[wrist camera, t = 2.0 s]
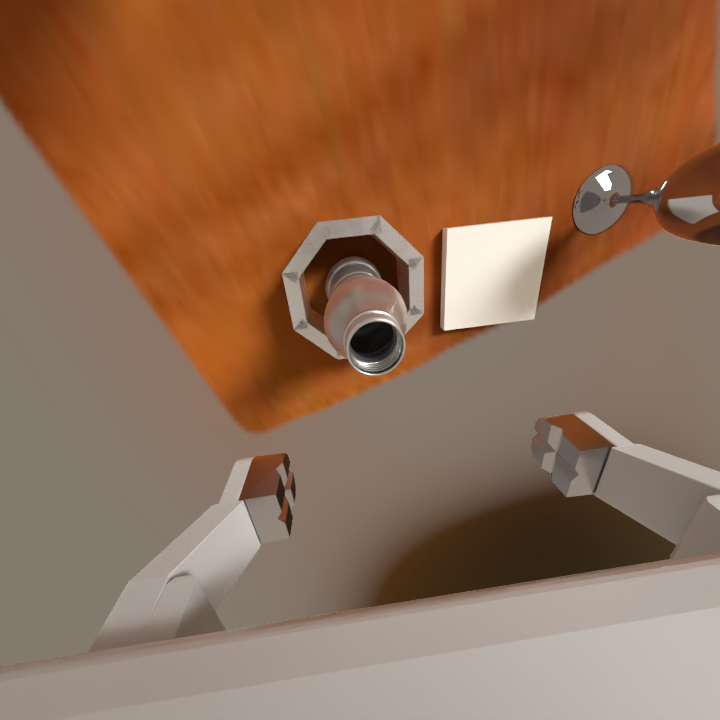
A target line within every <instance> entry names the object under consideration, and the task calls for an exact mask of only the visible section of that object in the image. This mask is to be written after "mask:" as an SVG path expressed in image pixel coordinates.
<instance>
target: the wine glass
mask: <svg viewBox="0 0 720 720" xmlns="http://www.w3.org/2000/svg"><path fill="white" fill-rule="evenodd" d="M633 192H634V182H633V178H632V175H631V173H630V172H629V171H628V170H627V169H626V168H625V167H623V166H621V165H615V164H612V165H607V166H604V167H602V168H600V169H598V170H596V171H595V172H594V173H592V174H591V175H590V176H589V177H588V178H587V179H586V180H585V181H584V183H583V184H582V185H581V187H580V189H579V191H578V192H577V195H576V197H575V200H574V204H573V219H574V222H575V225H576V226H577V228H578V229H579V230H580V231H582V232H584V233H586V234H599V233H602V232H604V231H606V230H608V229H610V228H611V227H613V226H614V225H615V224H616V223H617V222H618V221H619V220H620V219H621V218H622V217H623V216H624V214H625V213H626V211H627V209H628V207H629V205H630V203H634V204H644V205H648V206H650V207H651V208H652V209H653V210H654V213H655V216H656V218H657V221H658V222H659V224H660V225H661V227H662V228H663V229H664V230H665V231H667V232H669V233H670V234H673V235H675V236H677V237H680V238H683V239H686V240H690V241H695V242H699V243H705V244H710V245H719V246H720V143H717V144H715V145H712V146H710V147H708V148H706V149H704V150H702V151H700V152H698V153H696V154H695V155H693V156H691V157H690V158H689V159H687V160H686V161H685V162H684V163H682V164H681V165H680V166H679V167H677V168H676V169H675V170H674V171H673V172H672V173H671V174H670V175H669V177H668V178H667V179H666V180H665V181H664V182H663V183H662V184H661V185H659V186H658V187H656V188H654V189H652V190H649V191H645V192H641V193H637V194H633Z"/></svg>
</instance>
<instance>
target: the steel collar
mask: <svg viewBox="0 0 720 720" xmlns="http://www.w3.org/2000/svg"><path fill="white" fill-rule="evenodd" d="M369 234H370V235H371V236H372V237H373V238H374V239H375V240H377V241H378V242H379V243H380V244H381V245H382V246H383V247H384V248H385V249H386V250H388V251H389V252H390V253H391V254H392V255H393V256H394V257H395V258H396V259H397V283H398V292H399V293H400V295H401V296H402V298H403V300H404V302H405V306H406V309H407V326H406V332H405V334H406V333H407V332H408V331H409V329H410V328H411V327H412V326H413V325H414V324H415V323H416V322H417V321H418V320H419V318H420V317H421V316H422V315H423V314H424V257H423V256H422V255H421V254H420V253H419V252H418V251H417V250H416V249H415V248H414V247H413V246H412V245H410V244H409V243H408V242H407V241H406V240H405V239H404V238H403V237H402V236H401V235H400V234H399V233H398V232H397V231H396V230H395V229H394V228H393V227H392V226H391V225H389V224H388V223H387V222H386V221H385V220H384V219H383V218H382V217H381V216H370V217H361V218H352V219H343V220H334V221H325V222H317V223H316V225H315V226H314V228H313V229H312V231H311V232H310V234H309V235H308V236H307V238H306V239H305V241H304V242H303V244H302V245H301V247H300V248H299V250H298V251H297V252H296V254H295V255H294V257H293V258H292V260H291V261H290V263H289V264H288V265H287V267H286V268H285V270H284V271H283V273H282V276H283V281H284V286H285V291H286V295H287V300H288V305H289V309H290V314H291V319H292V324H293V328H294V330H295V331H296V332H298V333H299V334H301V335H302V336H304V337H305V338H307V339H308V340H310V341H311V342H312V343H314V344H315V345H317V346H318V347H320V348H321V349H323V350H324V351H326V352H327V353H329V354H330V355H332V356H333V357H334V358H336V359H337V360H338V359H345V358H344V357H343V356H341V355H340V354H339V353H338V352H337V351H336V350H335V349H334V348H333V347H332V345H331V344H330V342H329V340H328V338H327V336H326V333H325V329H324V317H323V316H322V315H320V314H319V313H318V312H316V311H315V310H313V309H312V308H311V307H310V302H309V296H308V291H307V285H306V279H305V274H304V270H305V269H306V267H307V266H308V264H309V263H310V262H311V260H312V259H313V257H314V256H315V255H316V253H317V252H318V250H319V249H320V248H321V246H322V245H323V243H324V242H325V241H326V239H333V238H342V237H351V236H360V235H369Z"/></svg>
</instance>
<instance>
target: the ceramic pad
mask: <svg viewBox="0 0 720 720" xmlns="http://www.w3.org/2000/svg"><path fill="white" fill-rule="evenodd" d="M551 221H552V217H540V218H531V219H522V220H513V221H504V222H495V223H486V224H477V225H468V226H459V227H450V228H443V234H442V273H441V312H440V327H441V328H442V329H443V330H444V331H445V330H453V329H461V328H469V327H477V326H485V325H493V324H501V323H509V322H516V321H524V320H532V319H534V318H535V312H536V306H537V301H538V295H539V289H540V284H541V278H542V272H543V266H544V261H545V255H546V249H547V244H548V238H549V232H550V227H551Z"/></svg>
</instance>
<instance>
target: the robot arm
mask: <svg viewBox="0 0 720 720" xmlns="http://www.w3.org/2000/svg"><path fill="white" fill-rule="evenodd" d="M534 429H535V430H536V431H537V434H536V436H534V438H533V439H532V443H531V450H532V454H533V457H534V459H535V460H536V462H537V464H538V465H539V466H540V467H541V468H542V469H544V470H546V471H548V472H550V473H551V480H552V481H553V482H554V483H555V485H556V486H557V487H558V488H559V489H560V490H561V491H562V493H563V494H564V495H565V496H566V497H572V496H580V495H589V494H595V496H596V497H598V498H600V499H601V500H603V501H605V502H606V503H608V504H610V505H611V506H613V507H615V508H616V509H618V510H620V511H621V512H623V513H624V514H626V515H628V516H630V517H631V518H633V519H634V520H636V521H638V522H639V523H641V524H643V525H644V526H646V527H648V528H649V529H651V530H653V531H654V532H656V533H658V534H659V535H661V536H662V537H664V538H666V539H668V540H669V541H671V542H672V543H674V544H676V545H677V546H676V548H675V549H674V551H673V552H672V554H671V556H670V559H669V560H663V561H657V562H650V563H644V564H639V565H632V566H625V567H619V568H613V569H607V570H600V571H594V572H588V573H582V574H576V575H569V576H563V577H557V578H550V579H544V580H538V581H532V582H525V583H519V584H513V585H506V586H500V587H494V588H488V589H482V590H476V591H469V592H463V593H457V594H451V595H444V596H438V597H432V598H426V599H420V600H414V601H408V602H401V603H395V604H388V605H383V606H376V607H370V608H363V609H357V610H351V611H345V612H338V613H332V614H326V615H320V616H313V617H307V618H301V619H295V620H288V621H282V622H276V623H270V624H264V625H257V626H252V627H245V628H239V629H232V630H226V628H225V626H224V625H223V623H222V621H221V620H220V618H219V617H218V615H217V613H216V610H217V609H218V607H219V606H220V604H221V603H222V601H223V600H224V599H225V597H226V595H227V594H228V593H229V591H230V590H231V588H232V587H233V585H234V584H235V583H236V581H237V580H238V578H239V577H240V575H241V574H242V572H243V571H244V569H245V568H246V566H247V565H248V563H249V562H250V560H251V559H252V558H253V556H254V555H255V553H256V552H257V550H258V549H259V548H260V546H261V545H260V544H261V543H267V542H273V541H278V540H284V539H289V538H290V535H291V527H292V520H293V516H292V512H291V507H292V506H293V505H294V504H295V497H296V485H295V478H294V474H293V472H291V471H290V470H289V467H290V460H289V457H288V455H287V454H286V453H283V454H275V455H266V456H257V457H252V458H243V459H238V460H237V461H236V462H235V464H234V466H233V469H232V472H231V474H230V476H229V479H228V481H227V483H226V486H225V488H224V491H223V493H222V496H221V498H220V500H219V503H218V504H215V505H212V506H211V507H210V508H209V509H208V510H207V511H206V512H205V513H203V514H202V515H201V516H200V517H199V518H198V519H197V520H196V521H195V522H194V523H192V524H191V526H189V527H188V528H187V529H186V530H185V531H184V532H183V533H182V534H180V535H179V536H178V537H177V538H176V539H175V540H174V541H173V542H172V543H171V544H169V546H167V547H166V548H165V549H164V550H163V551H162V552H161V553H160V554H159V555H158V556H156V557H155V558H154V559H153V560H152V561H151V562H150V563H149V564H148V565H147V566H145V567H144V568H143V569H142V570H141V571H140V572H139V573H138V574H137V575H136V576H135V577H133V578H132V579H131V580H130V581H129V582H128V583H127V585H126V587H125V588H124V590H123V592H122V594H121V595H120V598H119V599H118V601H117V602H116V604H115V606H114V608H113V609H112V611H111V613H110V615H109V616H108V618H107V620H106V622H105V623H104V625H103V627H102V628H101V630H100V632H99V634H98V635H97V637H96V639H95V641H94V643H93V644H92V646H91V648H90V649H89V651H88V653H82V654H75V655H69V656H63V657H56V658H50V659H44V660H38V661H31V662H25V663H19V664H12V665H6V666H0V720H720V472H718V471H715V470H712V469H709V468H706V467H704V466H701V465H698V464H695V463H692V462H690V461H687V460H684V459H681V458H678V457H675V456H672V455H670V454H667V453H664V452H661V451H658V450H656V449H652V448H650V447H647V446H644V445H641V444H633V443H631V442H630V441H629V440H627V439H626V438H625V437H623V436H622V435H620V434H619V433H618V432H616V431H615V430H613V429H612V428H611V427H609V426H608V425H606V424H605V423H603V422H602V421H601V420H600V419H598V418H597V417H595V416H594V415H593V414H591V413H589V412H586V411H583V412H576V413H570V414H565V415H558V416H552V417H545V418H539V419H538V420H537V421H536V423H535V427H534Z"/></svg>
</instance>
